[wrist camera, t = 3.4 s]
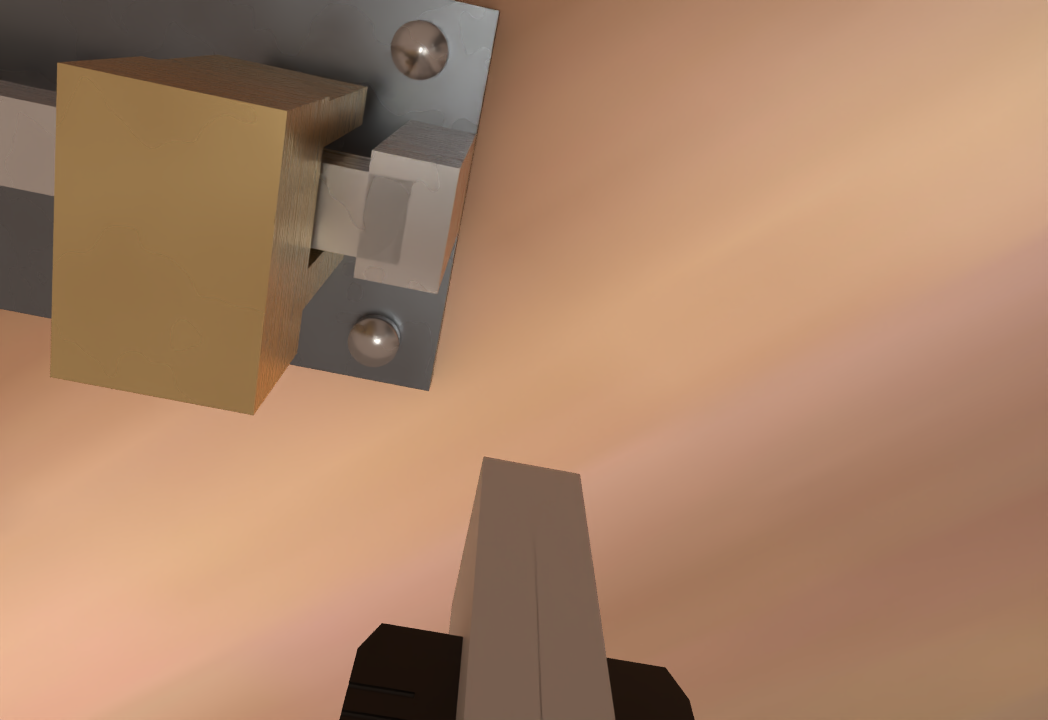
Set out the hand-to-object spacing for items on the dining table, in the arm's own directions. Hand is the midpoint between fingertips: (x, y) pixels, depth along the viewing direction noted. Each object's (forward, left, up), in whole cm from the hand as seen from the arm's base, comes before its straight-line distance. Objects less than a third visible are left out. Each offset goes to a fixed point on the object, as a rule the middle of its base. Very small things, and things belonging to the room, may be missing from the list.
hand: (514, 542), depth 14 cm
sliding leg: (-1, -7, -15) cm, 16 cm away
